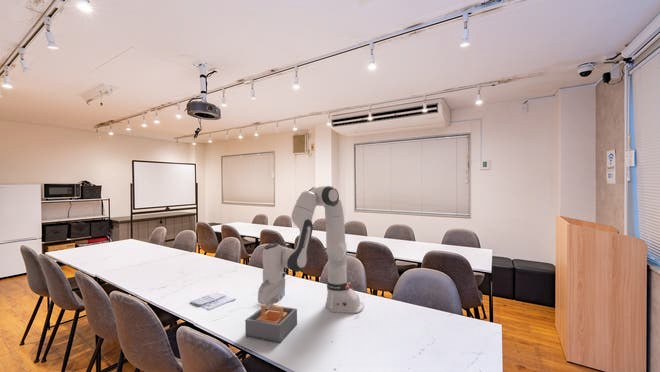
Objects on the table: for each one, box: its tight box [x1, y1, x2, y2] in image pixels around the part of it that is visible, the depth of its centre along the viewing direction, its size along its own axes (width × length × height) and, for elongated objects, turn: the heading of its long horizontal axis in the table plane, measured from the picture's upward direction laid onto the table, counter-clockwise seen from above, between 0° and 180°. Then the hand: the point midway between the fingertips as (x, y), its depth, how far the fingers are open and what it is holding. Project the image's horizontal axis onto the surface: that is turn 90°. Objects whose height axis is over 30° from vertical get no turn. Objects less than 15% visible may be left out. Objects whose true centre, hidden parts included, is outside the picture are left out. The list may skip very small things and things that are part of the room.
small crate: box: [256, 304, 288, 324], centre depth 135 cm, size 11×11×11 cm
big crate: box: [244, 306, 298, 344], centre depth 135 cm, size 18×18×8 cm
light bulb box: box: [270, 287, 286, 302], centre depth 176 cm, size 11×7×11 cm, turn 169°
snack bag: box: [189, 291, 237, 311], centre depth 171 cm, size 19×20×2 cm
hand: (272, 305), depth 135 cm, fingers open, 5 cm apart
